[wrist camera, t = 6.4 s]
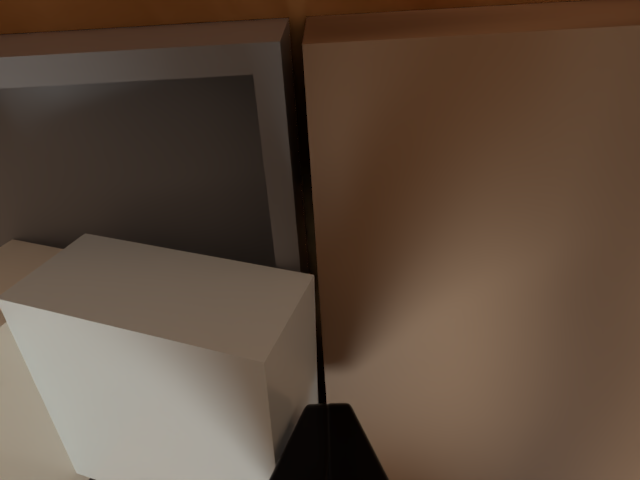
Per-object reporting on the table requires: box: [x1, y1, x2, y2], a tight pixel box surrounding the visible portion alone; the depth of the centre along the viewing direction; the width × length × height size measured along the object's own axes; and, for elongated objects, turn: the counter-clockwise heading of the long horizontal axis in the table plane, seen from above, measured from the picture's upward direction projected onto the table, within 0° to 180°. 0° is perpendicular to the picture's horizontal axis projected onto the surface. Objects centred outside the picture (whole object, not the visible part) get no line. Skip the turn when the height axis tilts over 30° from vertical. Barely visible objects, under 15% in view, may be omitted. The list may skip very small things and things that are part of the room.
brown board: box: [302, 0, 640, 480], centre depth 10 cm, size 11×12×2 cm
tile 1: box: [0, 233, 318, 480], centre depth 9 cm, size 4×4×2 cm
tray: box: [0, 18, 319, 480], centre depth 11 cm, size 11×12×2 cm
